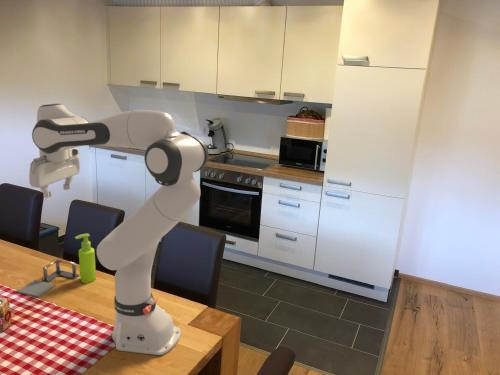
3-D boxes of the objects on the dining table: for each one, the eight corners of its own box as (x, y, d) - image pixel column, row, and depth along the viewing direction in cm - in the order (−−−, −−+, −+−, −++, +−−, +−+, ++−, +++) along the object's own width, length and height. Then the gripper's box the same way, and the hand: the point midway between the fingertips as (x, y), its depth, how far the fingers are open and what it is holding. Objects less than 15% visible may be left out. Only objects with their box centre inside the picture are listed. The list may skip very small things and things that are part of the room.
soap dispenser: (75, 279, 170) (72, 234, 164) (92, 274, 174) (89, 230, 168) (81, 285, 166) (78, 239, 160) (98, 280, 170) (95, 235, 164)
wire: (79, 275, 173) (78, 261, 171) (63, 286, 164) (62, 271, 162) (58, 271, 175) (56, 257, 173) (41, 281, 167) (40, 266, 165)
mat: (55, 286, 164) (55, 284, 164) (38, 297, 156) (38, 296, 156) (35, 281, 167) (34, 279, 167) (17, 292, 158) (16, 290, 158)
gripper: (38, 161, 127) (42, 203, 131) (82, 148, 145) (84, 186, 150) (21, 158, 128) (26, 200, 132) (67, 146, 147) (69, 183, 151)
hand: (57, 193), depth 141 cm, fingers open, 8 cm apart
